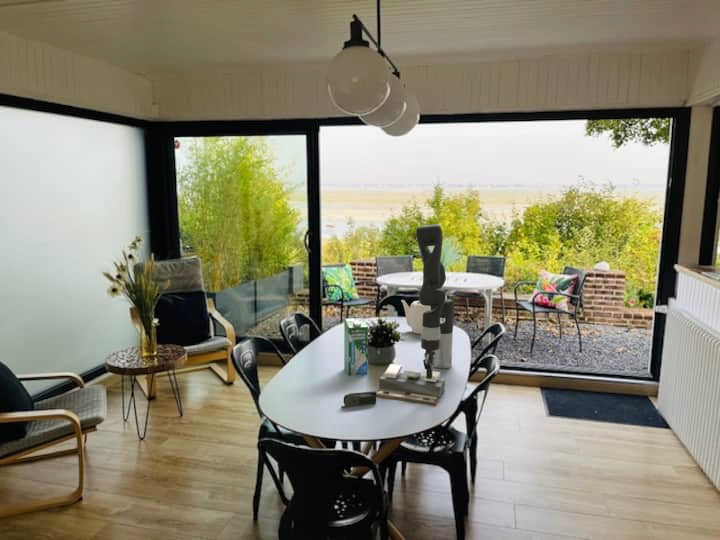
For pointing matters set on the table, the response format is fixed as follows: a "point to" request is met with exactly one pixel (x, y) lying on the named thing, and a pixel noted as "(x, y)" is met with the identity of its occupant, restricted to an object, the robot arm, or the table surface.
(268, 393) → the table surface
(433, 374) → the cream box
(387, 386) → the switch box
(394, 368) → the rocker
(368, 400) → the mobile phone
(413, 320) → the watering can
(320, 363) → the table surface
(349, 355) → the milk carton
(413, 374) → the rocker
